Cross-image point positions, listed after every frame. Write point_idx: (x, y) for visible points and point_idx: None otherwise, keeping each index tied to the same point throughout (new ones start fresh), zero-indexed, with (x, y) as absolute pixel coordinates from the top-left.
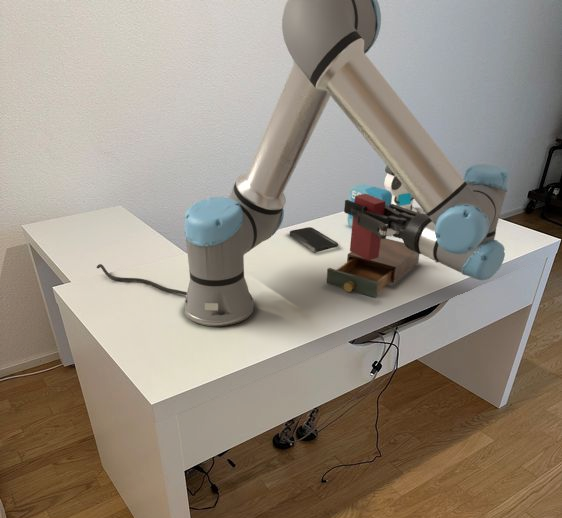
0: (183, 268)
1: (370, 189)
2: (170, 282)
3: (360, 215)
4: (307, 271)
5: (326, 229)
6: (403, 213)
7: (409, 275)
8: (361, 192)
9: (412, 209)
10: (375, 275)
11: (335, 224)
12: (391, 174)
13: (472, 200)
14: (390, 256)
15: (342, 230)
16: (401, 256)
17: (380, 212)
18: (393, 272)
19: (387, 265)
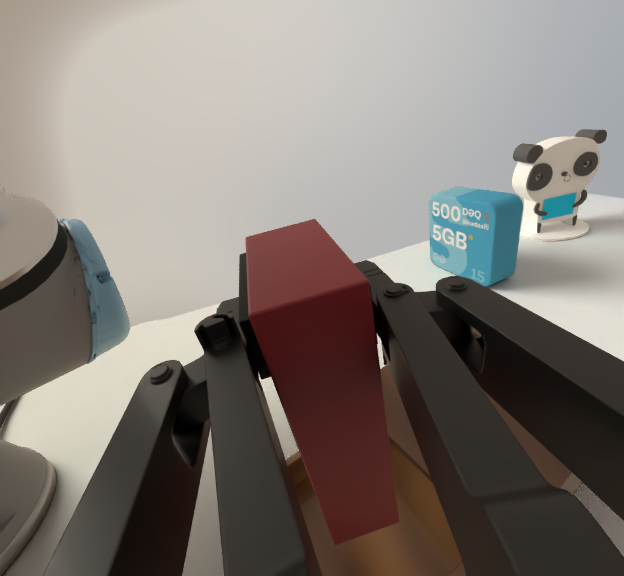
0: (105, 356)
1: (468, 195)
2: (44, 394)
3: (132, 405)
4: (271, 401)
5: (388, 272)
6: (559, 549)
7: (584, 498)
8: (449, 203)
9: (577, 223)
10: (431, 490)
11: (410, 260)
12: (526, 162)
13: None
14: None
15: (416, 274)
16: (545, 448)
17: (337, 358)
18: None
19: None
